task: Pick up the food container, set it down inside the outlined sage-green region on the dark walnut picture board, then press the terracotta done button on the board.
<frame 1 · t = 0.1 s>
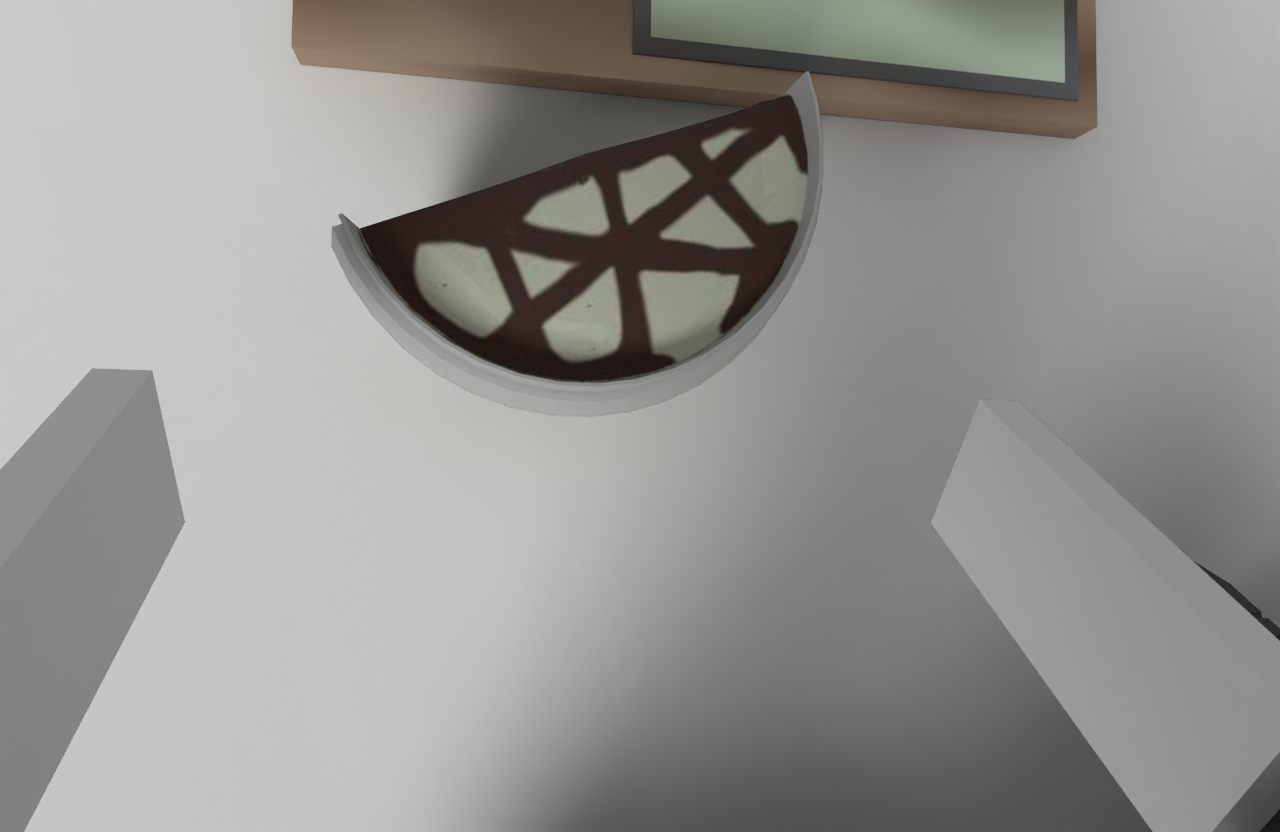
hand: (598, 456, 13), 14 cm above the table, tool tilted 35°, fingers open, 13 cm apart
food container: (582, 332, 28), on the table
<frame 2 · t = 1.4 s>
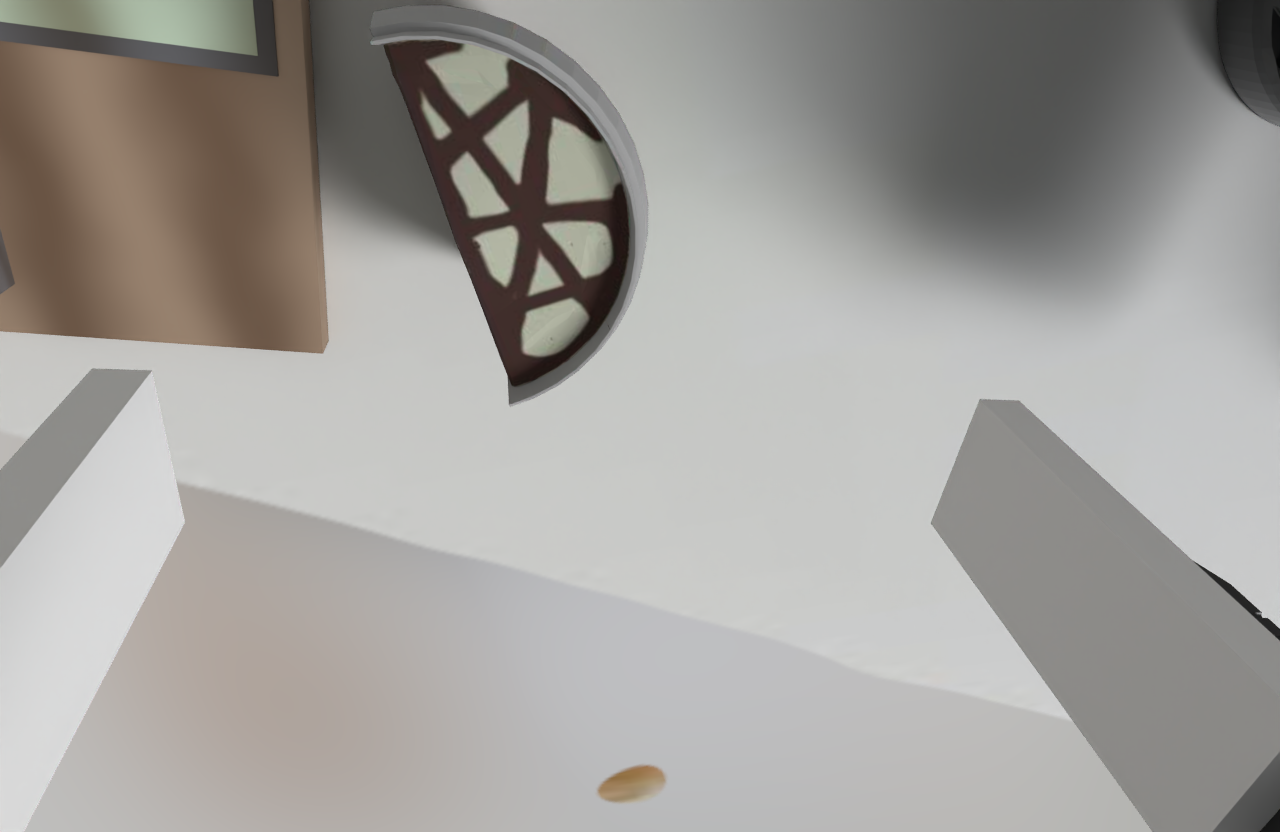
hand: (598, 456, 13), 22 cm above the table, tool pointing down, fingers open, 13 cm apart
food container: (542, 140, 32), on the table
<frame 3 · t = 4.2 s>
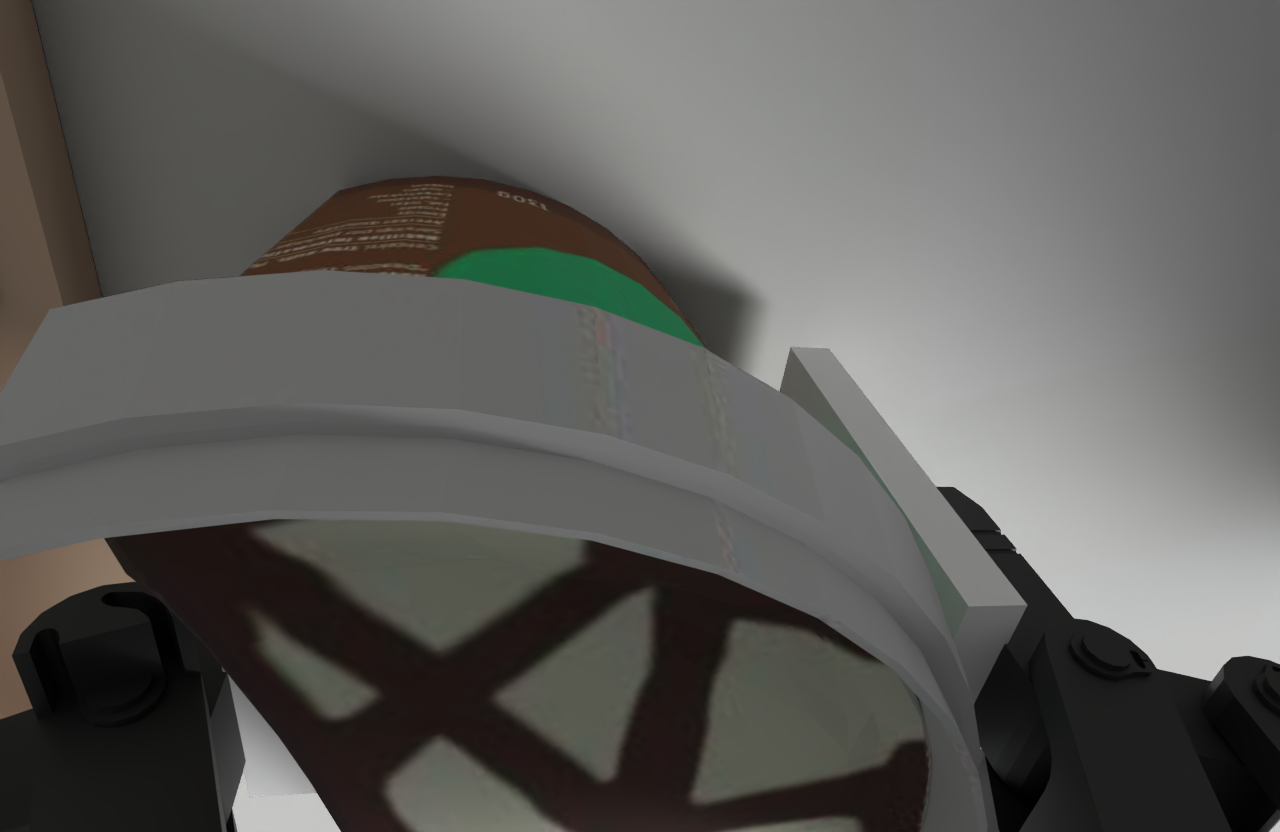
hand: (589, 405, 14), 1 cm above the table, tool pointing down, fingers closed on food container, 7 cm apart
food container: (596, 369, 16), on the table, touching gripper
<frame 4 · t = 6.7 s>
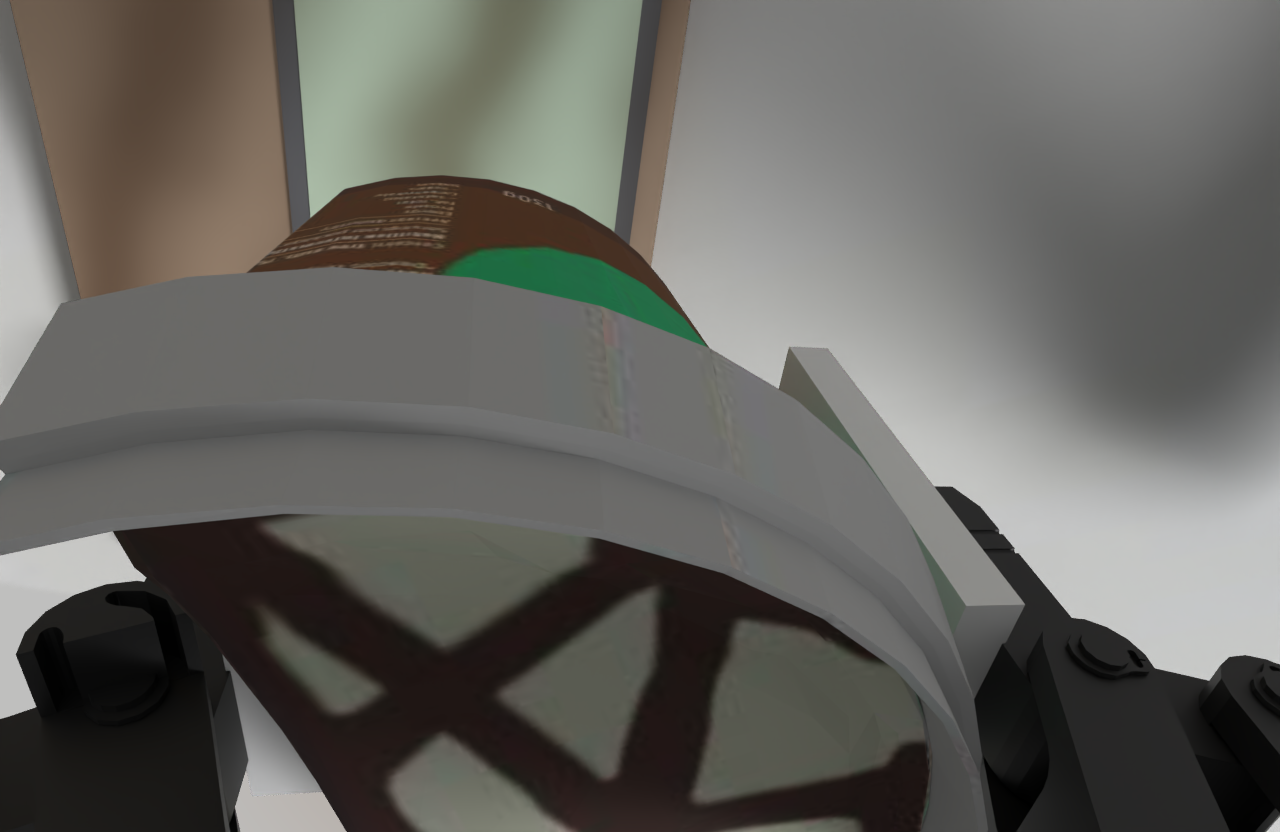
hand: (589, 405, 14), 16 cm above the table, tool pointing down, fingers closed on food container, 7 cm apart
picture board: (380, 239, 28), on the table
food container: (599, 369, 16), point 14 cm above the table, touching gripper
when the fingers open (4 cm above the table, at t = 9.6 s): food container stays where it is, resting on picture board.
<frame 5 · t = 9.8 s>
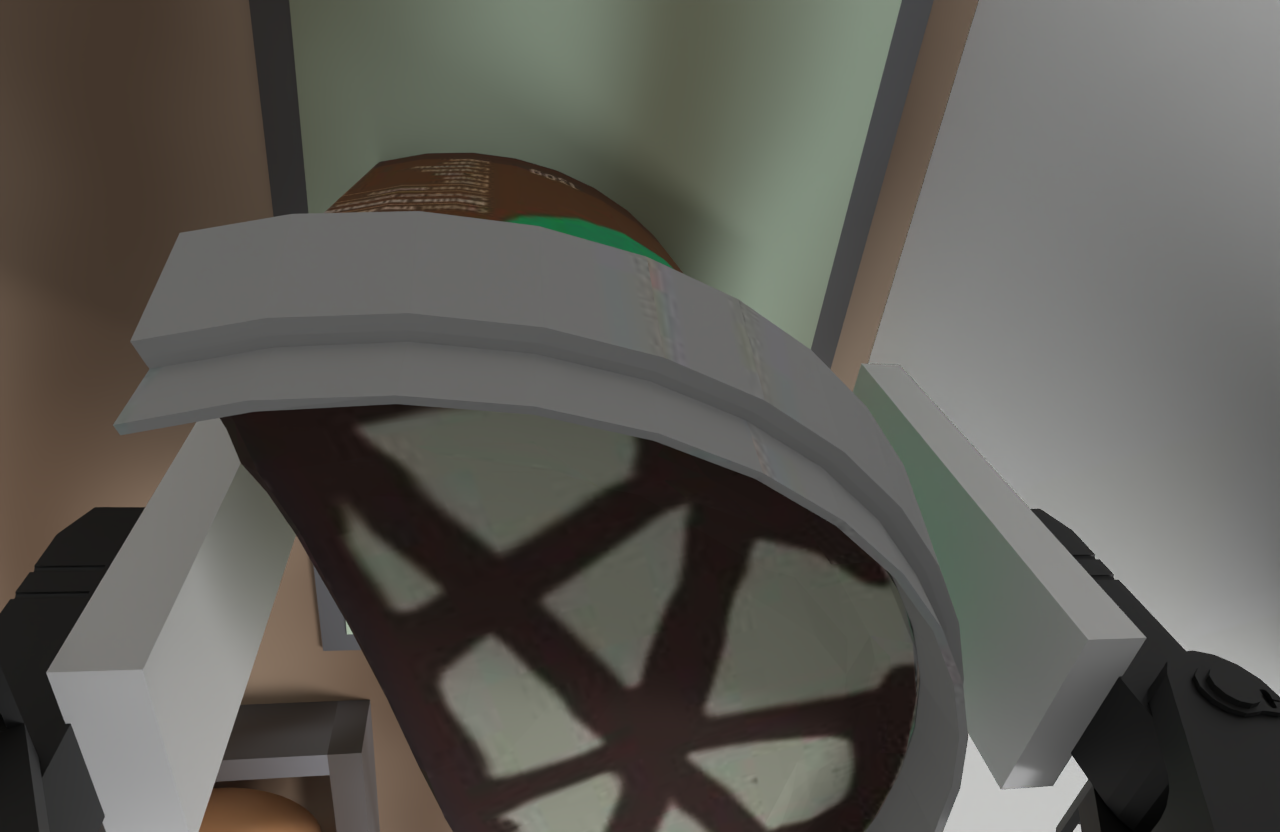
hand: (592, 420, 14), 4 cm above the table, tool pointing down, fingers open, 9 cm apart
picture board: (434, 502, 19), on the table
food container: (609, 344, 17), point 1 cm above the table, touching picture board
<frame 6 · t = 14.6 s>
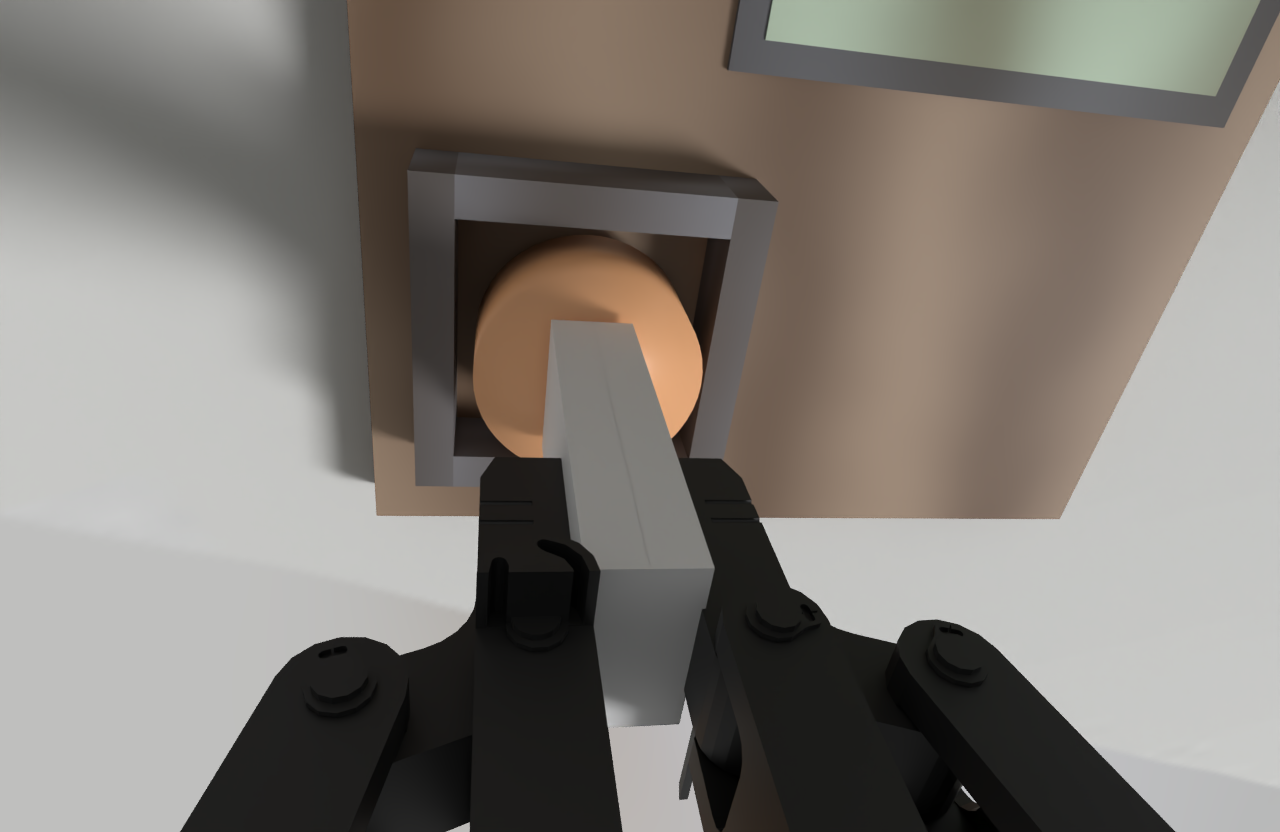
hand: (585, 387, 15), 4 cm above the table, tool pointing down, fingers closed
done button: (585, 356, 16), point 3 cm above the table, slide at 0.8 cm, touching gripper
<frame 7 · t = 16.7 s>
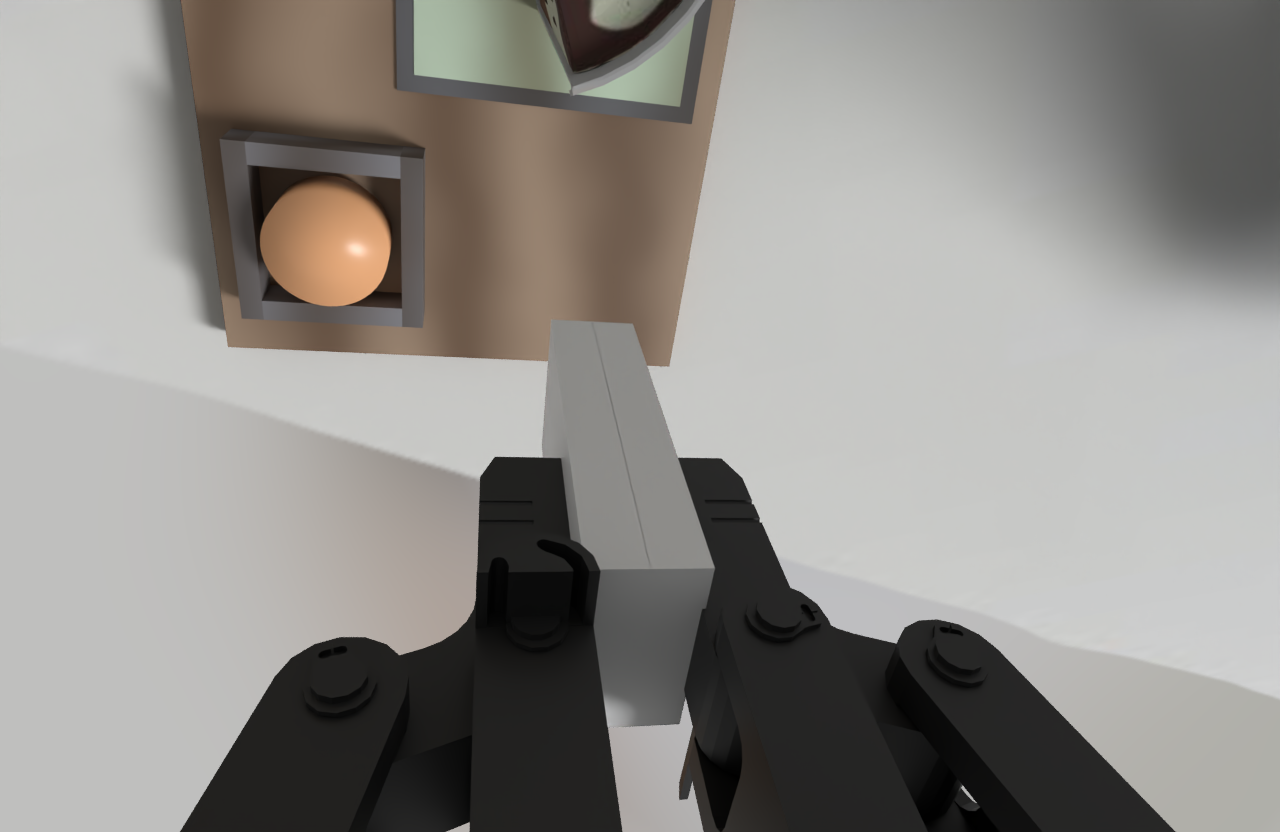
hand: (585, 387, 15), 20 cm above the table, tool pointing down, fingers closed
done button: (329, 241, 30), point 3 cm above the table, slide at 0.9 cm
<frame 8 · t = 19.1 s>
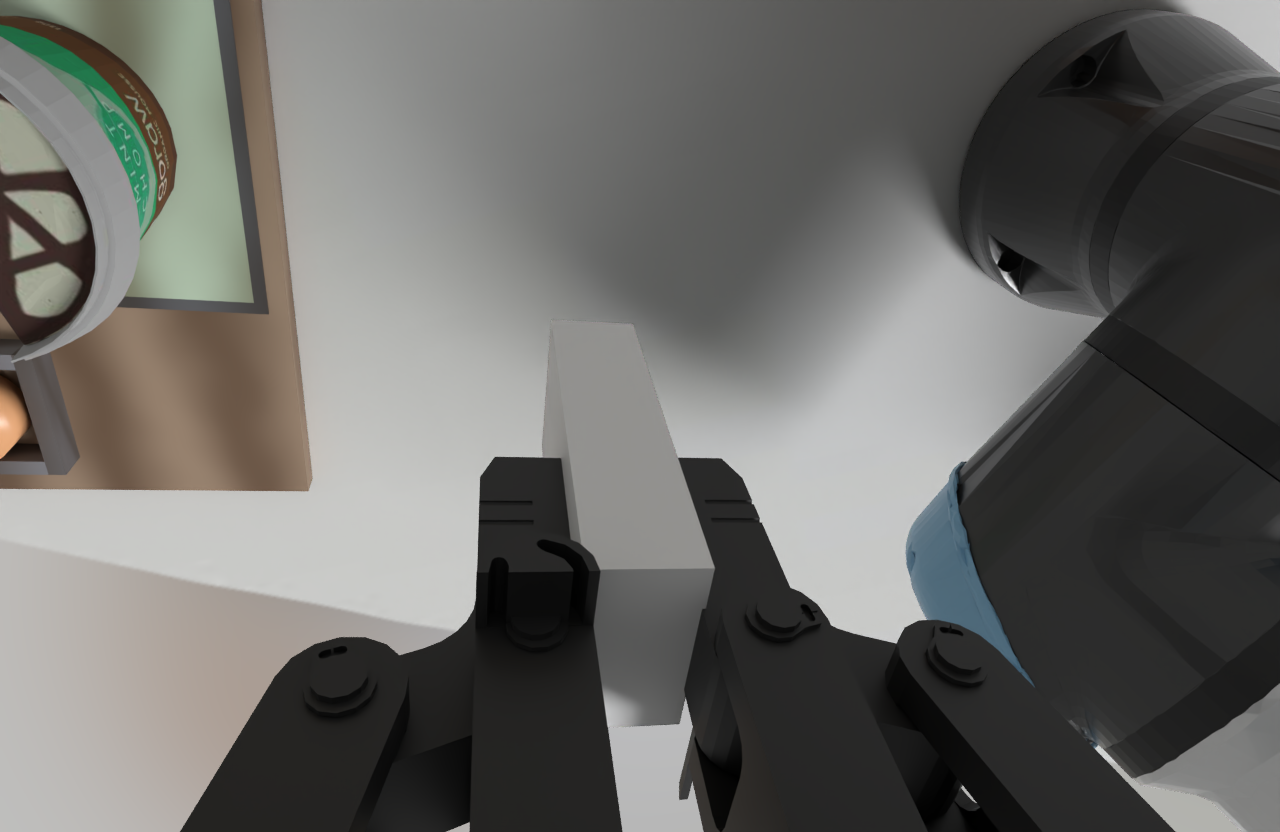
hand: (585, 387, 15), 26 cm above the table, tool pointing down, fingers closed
picture board: (66, 221, 37), on the table
food container: (121, 120, 34), point 1 cm above the table, touching picture board
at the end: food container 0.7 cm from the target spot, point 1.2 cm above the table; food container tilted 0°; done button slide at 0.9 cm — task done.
